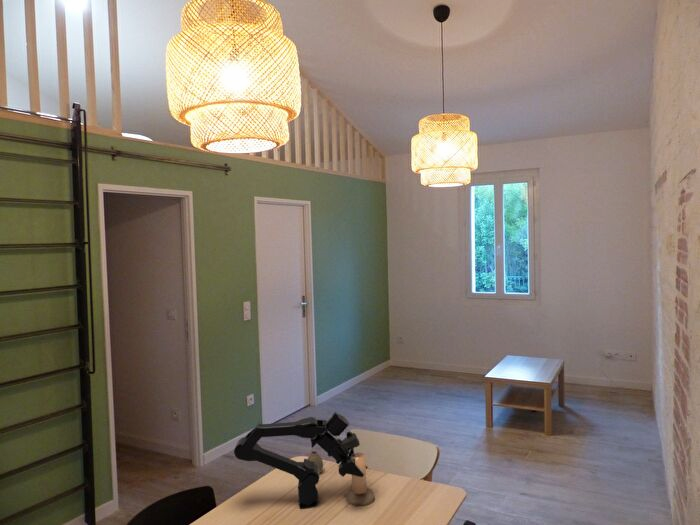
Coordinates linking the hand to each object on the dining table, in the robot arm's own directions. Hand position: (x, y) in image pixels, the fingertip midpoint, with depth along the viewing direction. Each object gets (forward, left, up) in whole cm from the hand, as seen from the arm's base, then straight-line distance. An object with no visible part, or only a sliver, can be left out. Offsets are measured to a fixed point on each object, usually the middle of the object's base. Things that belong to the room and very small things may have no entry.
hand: (362, 472), depth 190 cm
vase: (-14, +27, -10) cm, 32 cm away
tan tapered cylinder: (-1, 0, -7) cm, 7 cm away
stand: (-1, 0, -10) cm, 10 cm away
